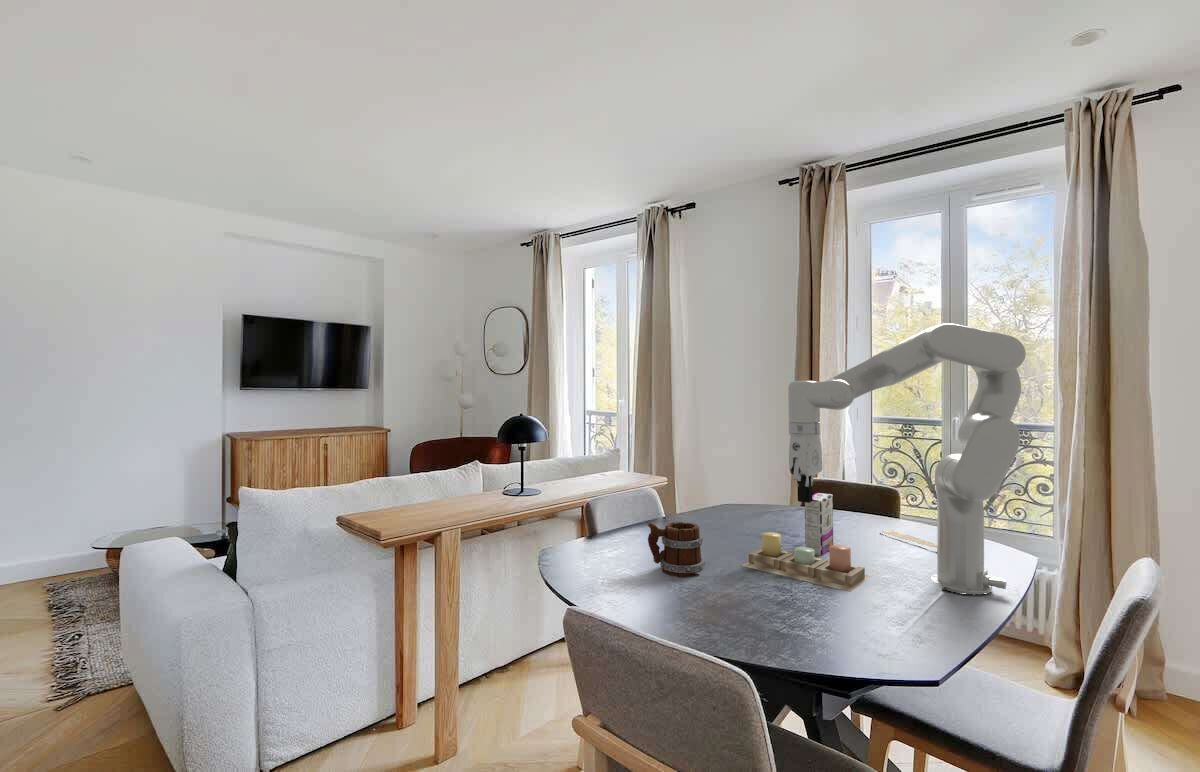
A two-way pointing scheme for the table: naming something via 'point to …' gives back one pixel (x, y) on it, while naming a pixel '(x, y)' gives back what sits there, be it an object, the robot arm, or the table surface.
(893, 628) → the table surface
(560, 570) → the table surface
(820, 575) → the wooden compartment tray
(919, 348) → the robot arm
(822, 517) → the candy bar box
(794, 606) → the table surface
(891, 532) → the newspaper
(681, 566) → the mug
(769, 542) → the mustard button
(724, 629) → the table surface
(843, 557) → the salmon orange rounded piece
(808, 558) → the sage button
